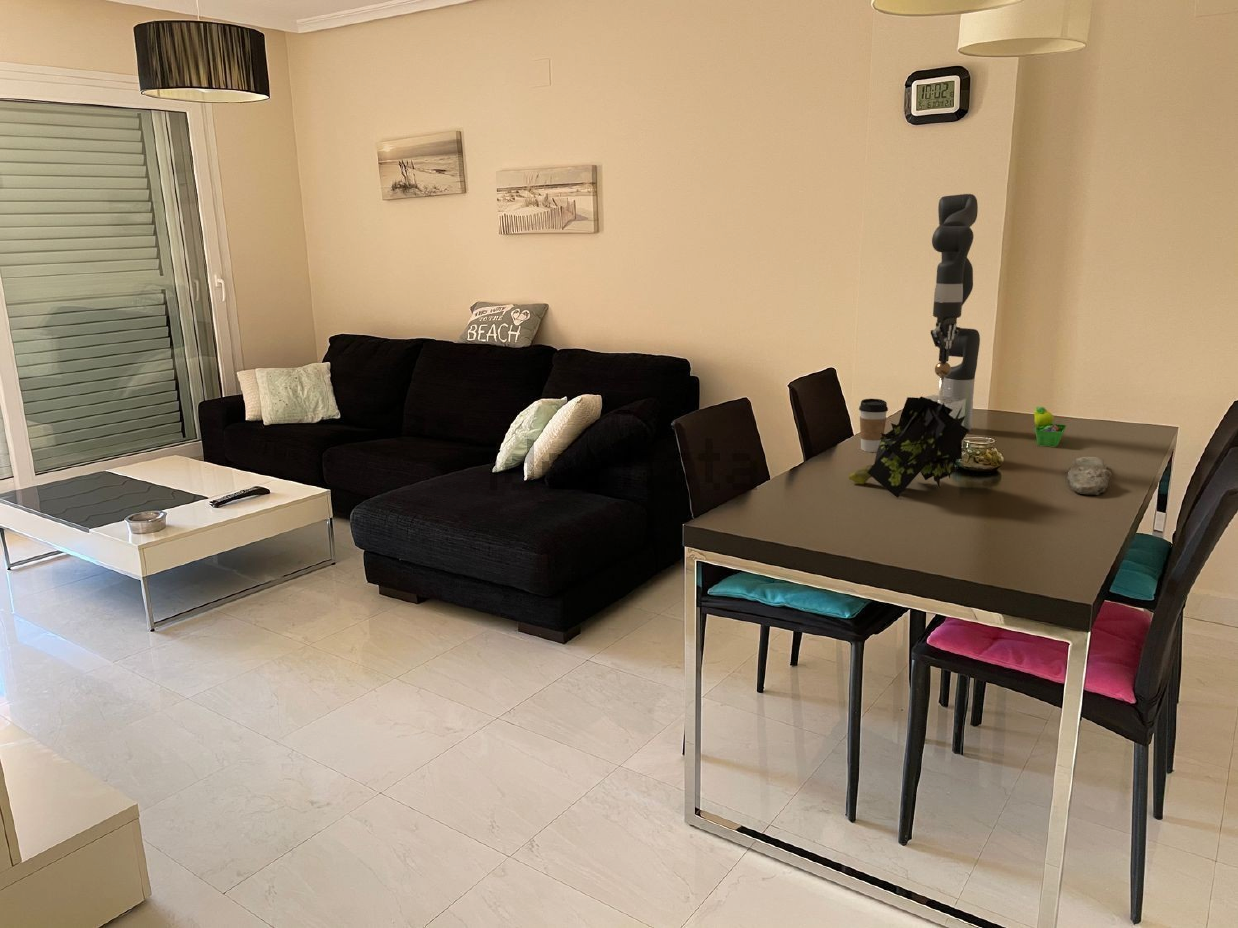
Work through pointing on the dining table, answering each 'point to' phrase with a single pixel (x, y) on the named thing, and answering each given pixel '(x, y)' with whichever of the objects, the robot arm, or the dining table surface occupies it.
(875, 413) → the coffee cup
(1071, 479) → the elongated rock
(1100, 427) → the dining table surface
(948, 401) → the press
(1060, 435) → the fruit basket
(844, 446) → the dining table surface
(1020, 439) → the dining table surface
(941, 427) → the black leafy clump
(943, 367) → the plunger
